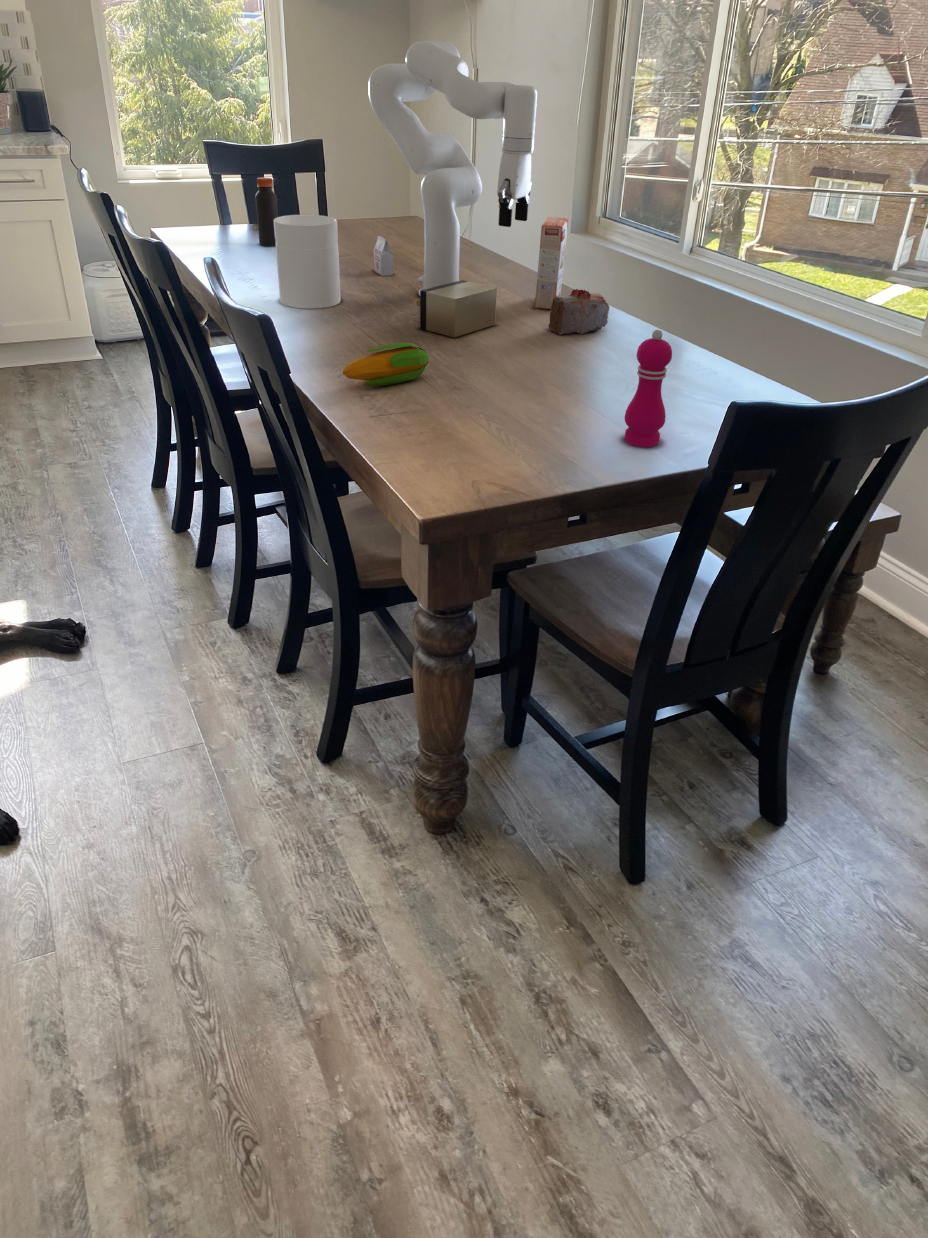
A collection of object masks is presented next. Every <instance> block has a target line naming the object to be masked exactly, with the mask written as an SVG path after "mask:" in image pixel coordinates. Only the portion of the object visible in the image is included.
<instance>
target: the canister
mask: <svg viewBox="0 0 928 1238" xmlns="http://www.w3.org/2000/svg"><path fill="white" fill-rule="evenodd" d="M338 231H339V230H338V219H337V218H335V217H332V216H329V215H328V216H327V215H320V214H319V215H318V214H289V215H288V214H287V215H282V216H278V217H277V218H275V219H274V232H275V239H276V243H275V244H276V246H275V256H276V267H277V280H278V293H279V302H280V304H281V305H283V306H286V307H289V308H295V309H306V310H307V309H325V308H331V307H333V306H337V305H338V304H340V303H341V299H342V298H341V281H340V280H341V278H340V258H339V257H340V256H339V241H338V240H339V239H338V238H339V235H338V234H339V232H338Z"/></svg>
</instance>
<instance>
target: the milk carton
mask: <svg viewBox="0 0 928 1238" xmlns="http://www.w3.org/2000/svg"><path fill="white" fill-rule="evenodd" d="M372 255H373V256H372V257H373V259H372V260H373V272H374V273H376V274H378V276H379V275H380V276H381V277H384V276H394V256H393V252H392V250H391V247H390V246H389V243H388V239H387V238H385V237H383V236H381V235H377V239H376V242H375V245H374V247H373V250H372Z"/></svg>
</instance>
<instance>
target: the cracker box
mask: <svg viewBox="0 0 928 1238" xmlns="http://www.w3.org/2000/svg"><path fill="white" fill-rule="evenodd" d="M568 226H569V218H566V217H555V216H548V217H546V219H545V221H544V222H543V223H542V224H541V227H540V239H539V240H540V242H539V252H538V261H537V262H538V263H537V275H536V284H535V285H536V286H535V298H534V308H535V309H541V310H542V309H543V310H551V306H552V301H553V298H554V297H556V296H562V294H561V293H562V284H563V277H564V275H563V274H564V266H565V255H566V246H567V237H568V236H567V235H568Z"/></svg>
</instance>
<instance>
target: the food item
mask: <svg viewBox="0 0 928 1238" xmlns="http://www.w3.org/2000/svg"><path fill="white" fill-rule="evenodd" d="M570 292H571V293H570V294H565V295H561V296H556V297H554V298H553V301H552V306H551V309H550V313H549V323H548V329H549V330H550V331H551V332H554V333H555V334H558V335H561V336H562V335H570V334H575V333H576V334H580V335H583V334H585V333H589V332H593V331H600V330H602V328H605V327H606V325H607V324H608V322H609V321H608V318H609V312H610V305H609V303H608V302H607V301H606V299H605V297H604V296H603V295H602V294H600V293H596V292H593V293H590V291H588V290H586V289H578V288H576V289H573V290H572V291H570Z"/></svg>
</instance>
